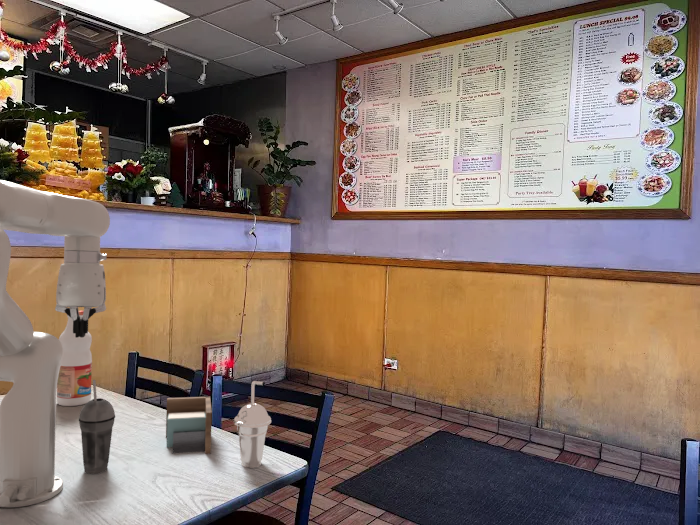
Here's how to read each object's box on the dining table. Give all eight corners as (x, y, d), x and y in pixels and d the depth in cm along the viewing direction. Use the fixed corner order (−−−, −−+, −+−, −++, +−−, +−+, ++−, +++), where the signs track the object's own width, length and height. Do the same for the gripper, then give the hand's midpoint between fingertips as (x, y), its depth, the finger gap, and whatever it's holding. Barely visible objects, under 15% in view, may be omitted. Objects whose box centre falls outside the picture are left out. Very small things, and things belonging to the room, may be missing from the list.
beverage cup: (121, 466, 121) (123, 376, 120) (98, 479, 114) (100, 384, 113) (93, 462, 123) (96, 373, 122) (69, 474, 116) (71, 380, 115)
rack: (210, 454, 130) (211, 412, 129) (162, 457, 127) (164, 414, 127) (209, 434, 143) (210, 396, 143) (166, 436, 140) (167, 398, 140)
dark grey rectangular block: (205, 451, 131) (205, 435, 131) (172, 454, 129) (172, 437, 129) (204, 445, 135) (205, 429, 135) (173, 447, 133) (173, 431, 133)
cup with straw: (269, 456, 130) (272, 372, 129) (270, 472, 121) (273, 382, 120) (233, 457, 128) (235, 372, 128) (231, 473, 119) (233, 382, 119)
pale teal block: (204, 445, 135) (205, 417, 135) (166, 448, 133) (167, 418, 133) (204, 438, 140) (205, 411, 140) (167, 440, 138) (168, 412, 138)
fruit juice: (61, 398, 171) (63, 309, 170) (94, 397, 173) (96, 309, 172) (52, 407, 161) (54, 312, 161) (87, 406, 164) (89, 313, 163)
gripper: (118, 259, 134) (116, 333, 134) (50, 257, 130) (49, 334, 130) (114, 259, 126) (112, 338, 127) (42, 258, 122) (40, 339, 123)
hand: (80, 336), depth 128 cm, fingers closed
